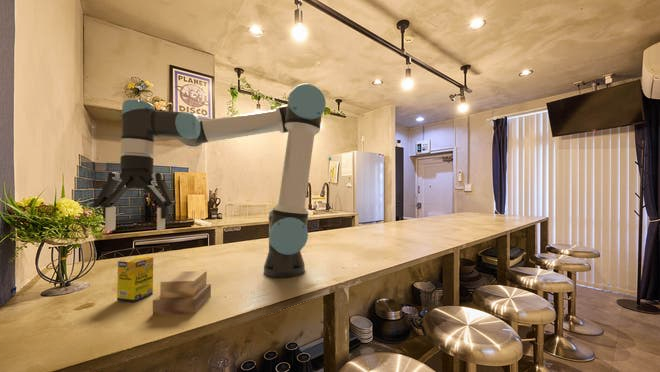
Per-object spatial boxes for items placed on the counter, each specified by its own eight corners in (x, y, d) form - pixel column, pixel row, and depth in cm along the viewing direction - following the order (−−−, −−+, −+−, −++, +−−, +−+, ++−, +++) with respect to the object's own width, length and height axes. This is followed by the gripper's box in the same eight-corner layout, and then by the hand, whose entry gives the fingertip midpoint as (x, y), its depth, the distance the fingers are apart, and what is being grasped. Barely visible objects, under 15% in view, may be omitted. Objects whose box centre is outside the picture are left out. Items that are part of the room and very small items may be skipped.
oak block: (206, 285, 72) (206, 270, 72) (193, 296, 64) (193, 280, 64) (176, 285, 71) (177, 271, 71) (160, 297, 63) (160, 281, 63)
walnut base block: (210, 297, 73) (210, 283, 73) (195, 315, 63) (195, 298, 63) (174, 299, 72) (174, 284, 72) (152, 316, 62) (152, 300, 62)
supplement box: (134, 302, 68) (134, 262, 69) (116, 300, 70) (117, 261, 70) (153, 294, 74) (154, 256, 74) (136, 292, 75) (137, 255, 76)
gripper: (189, 158, 77) (187, 228, 77) (101, 156, 75) (99, 228, 75) (176, 155, 70) (174, 232, 69) (78, 153, 68) (76, 232, 67)
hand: (135, 230), depth 72 cm, fingers open, 13 cm apart
